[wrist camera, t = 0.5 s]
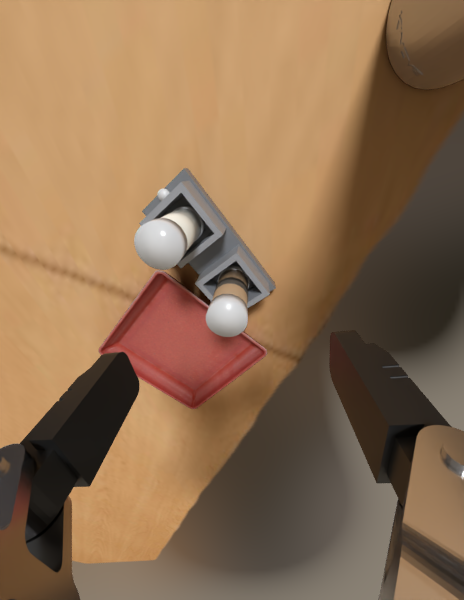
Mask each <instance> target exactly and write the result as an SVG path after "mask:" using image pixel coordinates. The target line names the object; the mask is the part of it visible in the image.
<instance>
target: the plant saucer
mask: <svg viewBox="0 0 464 600" xmlns="http://www.w3.org/2000/svg"><path fill="white" fill-rule="evenodd" d="M208 308H209V305H208V304H207V303H205V302H204V301H203V300H202V299H200V298H199V297H198V296H196V295H195V294H194V293H192V292H191V291H190V290H189V289H187V288H186V287H185V286H183V285H182V284H180V283H179V282H178V281H177V280H175V279H174V278H173V277H171V276H170V275H169V274H167V273H166V272H164V271H161V270H158V271H155V272H154V274H153V275H152V276H151V278H150V279H149V281H148V282H147V283H146V285H145V286H144V287H143V289H142V290H141V292H140V293H139V294H138V296H137V297H136V299H135V300H134V301H133V302H132V304H131V305H130V307H129V308H128V310H127V311H126V312H125V314H124V315H123V317H122V318H121V319H120V320H119V322H118V323H117V325H116V326H115V327H114V329H113V330H112V332H111V333H110V334H109V336H108V337H107V338H106V340H105V341H104V342H103V344H102V345H101V346H100V348H99V353H100V354H101V355H103V354H105V353H115V352H125V353H126V354H127V356H128V358H129V360H130V362H131V364H132V366H133V369H134V371H135V373H136V375H137V377H139V378H140V379H142V380H144V381H145V382H147V383H149V384H150V385H152V386H154V387H155V388H157V389H158V390H160V391H162V392H163V393H165V394H167V395H169V396H170V397H172V398H174V399H175V400H177V401H178V402H180V403H182V404H184V405H185V406H187V407H189V408H191V409H196V408H198V407H199V406H200V405H202V404H203V403H204V402H206V401H207V400H208V399H210V398H211V397H212V396H214V395H215V394H216V393H218V392H219V391H221V390H222V389H223V388H224V387H226V386H227V385H228V384H230V383H231V382H232V381H233V380H235V379H236V378H237V377H239V376H240V375H241V374H243V373H244V372H245V371H247V370H248V369H249V368H251V367H252V366H253V365H255V364H256V363H257V362H258V361H260V360H261V359H262V358H264V357H265V356H266V355H267V350H266V349H265V348H264V347H263V346H262V345H260V344H259V343H258V342H257V341H255V340H254V339H253V338H251V337H250V336H249V335H247V334H246V333H245V332H244V331H243V332H242V333H240V334H239V335H236V336H233V337H223V336H219V335H217V334H215V333H214V332H212V331H211V330H210V329H209V327H208V325H207V323H206V314H207V311H208Z"/></svg>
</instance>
